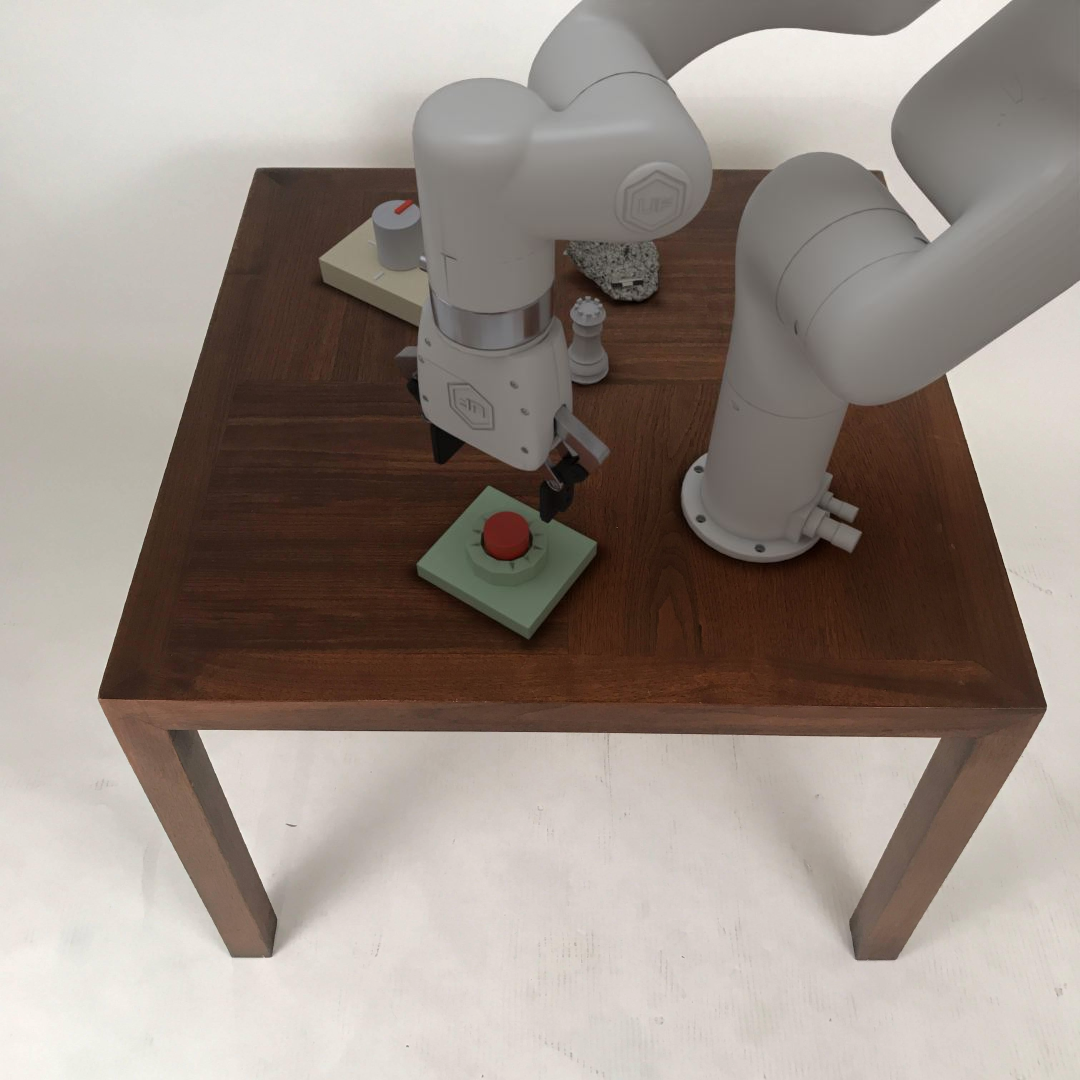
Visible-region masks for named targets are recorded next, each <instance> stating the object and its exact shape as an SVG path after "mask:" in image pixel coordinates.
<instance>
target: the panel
mask: <svg viewBox="0 0 1080 1080" xmlns="http://www.w3.org/2000/svg"><path fill="white" fill-rule="evenodd" d="M318 263H319V267H320V272H321V277H322V280H323V283H324V284H326V285H327V284H328V285H329V286H331V287H334V288H336V289H338V290H339V291H342V292H344V293H346V294H348V295H350V296H353V297H355V298H357V299H359V300H361V301H363V302H365V303H368V304H370V305H372V306H373V307H376V308H378V309H380V310H382V311H384V312H387V313H389V314H390V315H392V316H395V317H397V318H399V319H401V320H403V321H405V322H408V323H409V324H412V325H414V326H416V327H418V328H419V324H420V319H421V312H422V308H423V304H424V301H425V300H426V299H427V297H428V296H429V295H430V291H429V282H428V275H427V272H424V271H422V270H421V269H420V268H419V266H417V267H415V268H413V269H410V270H406V271H395V270H390V269H388V268H386V267H384V266H383V265H382V264H381V263H380V261H379V258H378V251H377V245H376V239H375V233H374V227H373V221H372V216H371V217H370V218H368V219H367V220H366V221H364V222H363V223H362V224H361V225H359V226H358V227H357V228H356V229H354V230H353V231H351V232H350V233H349V234H348V235H347V236H345V237H344V238H343V239H341V241H339V242H338V243H337V244H335V245H334V246H332V247H331V248H330V249H329V250H328V251H327V252H325V253H324V254H322V255H321V256H320V257H318Z"/></svg>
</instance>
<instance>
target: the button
mask: <svg viewBox="0 0 1080 1080" xmlns="http://www.w3.org/2000/svg"><path fill="white" fill-rule="evenodd" d="M483 532H484V544H485V548H486V550H487V552H488V553H489V554H490V555H491V556H493V557H495V558H497V559H500V560H512V559H516V558H518V557H520V556H522V555H523V554H524V553H525V552H526V550H527V549H528V546H529V525H528V523H527V521H526V520H525V518H524V517H522V516H521V515H519V514H517V513H515V512H509V511H504V512H499V513H496V514H494V515H492V516H491V517H490V518H489V519H488V520H487V521H486V522H485V525H484V528H483Z"/></svg>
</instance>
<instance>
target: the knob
mask: <svg viewBox="0 0 1080 1080" xmlns="http://www.w3.org/2000/svg"><path fill="white" fill-rule="evenodd" d="M371 217H372V221H373V227H374V233H375V239H376V245H377V251H378V258H379V261H380V263H381V264H382V265H383V266H384V267H386V268H388V269H390V270H395V271H406V270H410V269H413V268H415V267H417V266H419V259H420V256H421V255H422V253H423V252H424V251H425V249H424V240H423V232H422V223H421V215H420V207H419V205H416V204H415V203H414V200H412V199H410V198H408V199H407V200H405V199H403V200H402V199H393V200H388V201H386V202H383V203H381V204H379V205H377V206H376V207H375V208H374V209H373V211H372V214H371Z"/></svg>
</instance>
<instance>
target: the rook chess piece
mask: <svg viewBox="0 0 1080 1080" xmlns="http://www.w3.org/2000/svg"><path fill="white" fill-rule="evenodd" d="M584 299H585V300H583V298H581V297H579V298H578V299H576V303H574V306H572V308H571V309H570V312H569V313H570V318H571V320H572V321H573V322H572V324H571V327H572V328H571V329H572V331H573V338H572V342H571V344H570V346H569V347H568V348H567V349H568V355H569V362H570V370H571V381H572V382H573V383H576V384H579V385H592V384H596V383H598V382H600V381H601V380H602V379H604V378H605V377H606V376H607V374H608V372H609V357H608V353H607V352H606V351H605V348H604V347H603V345H602V340H601V332H602V331H603V329H604V327H603V321H605V319H606V317H607V313H606V312H607V311H606V310H605V308H604V307H603V303H601V300H600V299H599V298H597V297H595V298H594V300H592V297H591V296H588V295H587V296H585V297H584Z"/></svg>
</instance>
